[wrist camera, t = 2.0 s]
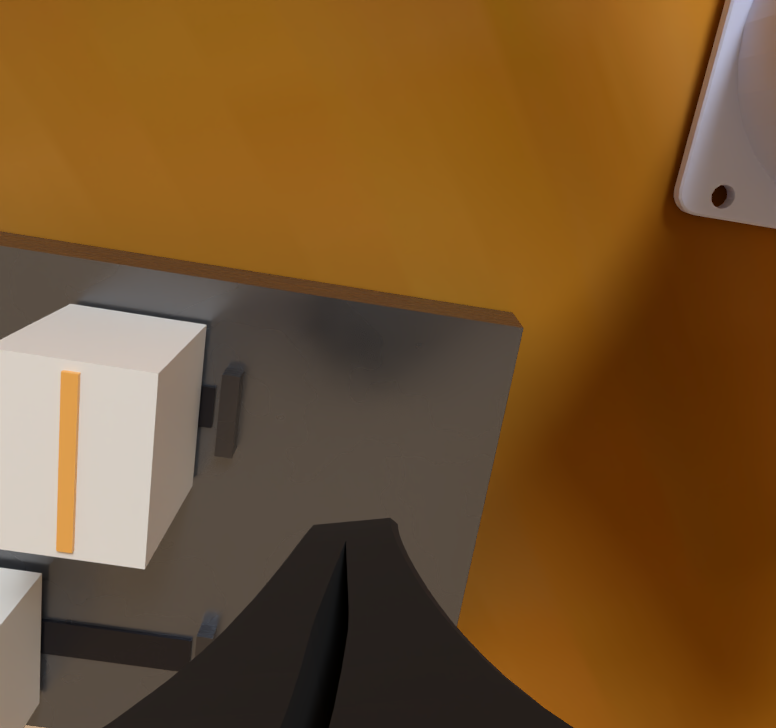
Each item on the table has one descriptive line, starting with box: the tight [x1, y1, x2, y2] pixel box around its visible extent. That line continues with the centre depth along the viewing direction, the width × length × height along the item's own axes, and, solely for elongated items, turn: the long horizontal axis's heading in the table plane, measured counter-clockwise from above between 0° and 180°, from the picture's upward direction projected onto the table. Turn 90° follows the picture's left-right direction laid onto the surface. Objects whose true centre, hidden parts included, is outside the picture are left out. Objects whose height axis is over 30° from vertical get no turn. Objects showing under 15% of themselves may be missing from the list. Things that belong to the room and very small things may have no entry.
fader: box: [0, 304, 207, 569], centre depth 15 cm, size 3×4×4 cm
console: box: [0, 232, 523, 728], centre depth 18 cm, size 20×13×2 cm, turn 81°
